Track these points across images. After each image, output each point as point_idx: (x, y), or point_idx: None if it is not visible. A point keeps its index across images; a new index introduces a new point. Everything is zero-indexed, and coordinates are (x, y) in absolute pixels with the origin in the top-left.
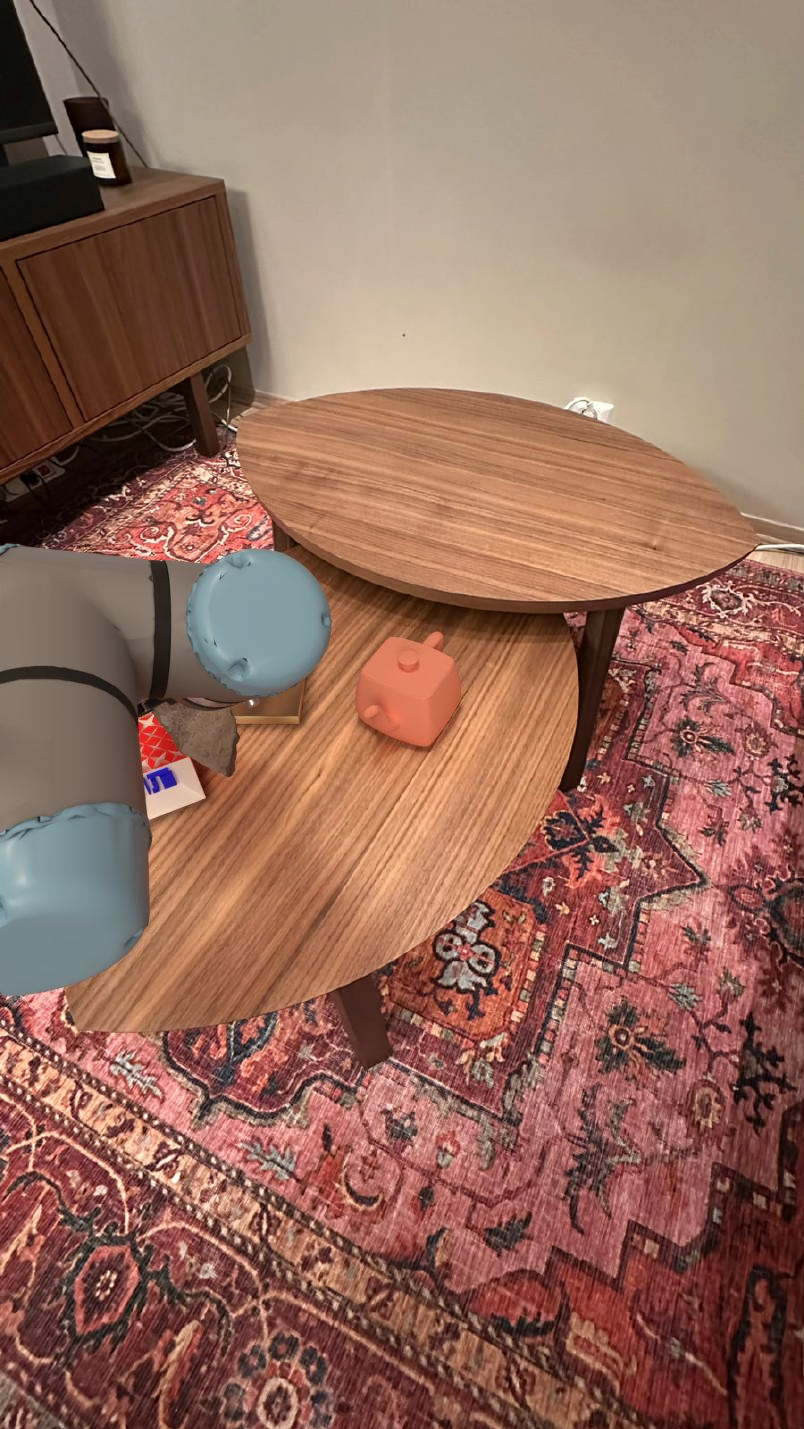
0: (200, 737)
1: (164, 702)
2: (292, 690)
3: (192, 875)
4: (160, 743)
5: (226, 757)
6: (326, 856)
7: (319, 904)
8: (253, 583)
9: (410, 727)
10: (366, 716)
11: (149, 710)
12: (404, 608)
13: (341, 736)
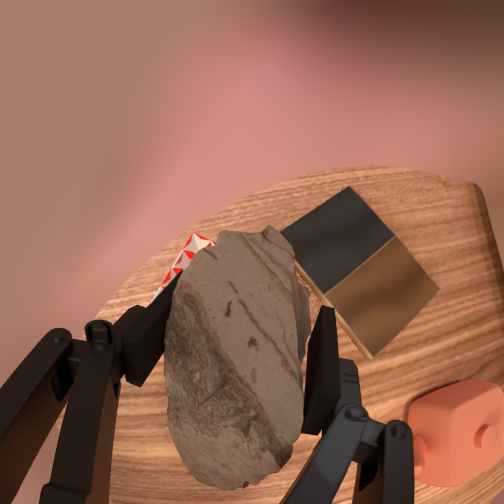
0: (189, 446)
1: (111, 457)
2: (393, 324)
3: (162, 407)
4: None
5: (202, 480)
6: (257, 494)
7: None
8: None
9: (422, 472)
10: None
11: (133, 381)
12: None
13: (382, 406)
